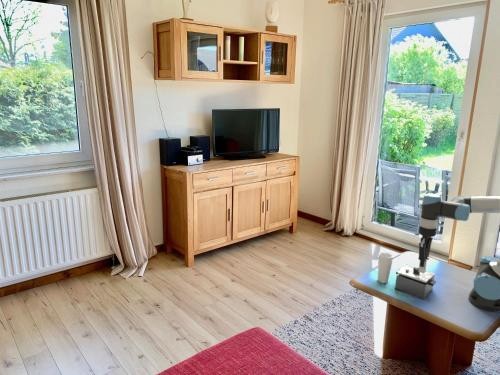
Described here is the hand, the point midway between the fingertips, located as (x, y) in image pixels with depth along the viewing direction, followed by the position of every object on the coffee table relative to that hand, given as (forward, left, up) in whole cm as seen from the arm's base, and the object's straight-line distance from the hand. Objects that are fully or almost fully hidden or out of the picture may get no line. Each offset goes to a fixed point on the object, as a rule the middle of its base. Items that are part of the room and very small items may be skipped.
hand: (421, 272), depth 179 cm
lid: (+3, -4, -4) cm, 6 cm away
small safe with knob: (+3, -4, -12) cm, 13 cm away
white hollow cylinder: (+18, -1, -13) cm, 22 cm away
